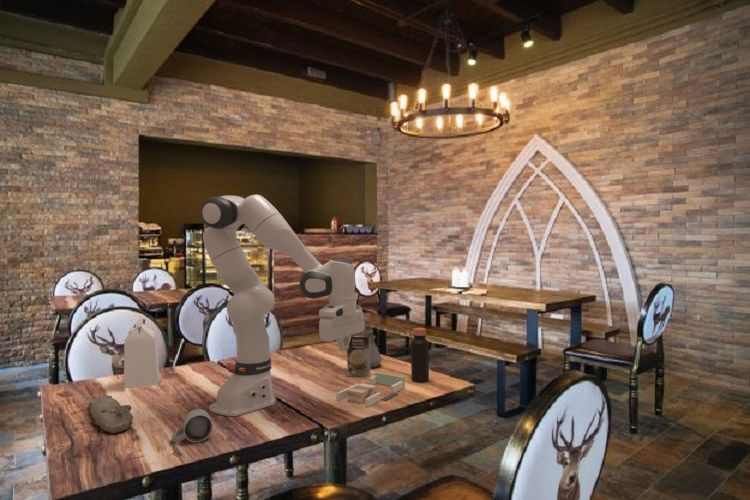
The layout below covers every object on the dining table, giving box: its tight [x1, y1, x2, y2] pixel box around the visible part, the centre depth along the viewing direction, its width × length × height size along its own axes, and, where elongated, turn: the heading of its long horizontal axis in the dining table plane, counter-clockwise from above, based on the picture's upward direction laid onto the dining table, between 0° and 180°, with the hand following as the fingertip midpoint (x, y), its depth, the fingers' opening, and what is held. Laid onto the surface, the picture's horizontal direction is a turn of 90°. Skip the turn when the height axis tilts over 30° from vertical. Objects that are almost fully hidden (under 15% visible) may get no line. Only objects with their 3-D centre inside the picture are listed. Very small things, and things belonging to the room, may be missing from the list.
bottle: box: [410, 327, 430, 383], centre depth 186 cm, size 7×7×20 cm
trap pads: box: [364, 382, 399, 402], centre depth 173 cm, size 12×17×1 cm
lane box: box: [336, 371, 406, 408], centre depth 171 cm, size 24×13×4 cm, turn 146°
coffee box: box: [346, 333, 372, 378], centre depth 195 cm, size 9×6×16 cm
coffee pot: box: [356, 333, 383, 369], centre depth 212 cm, size 21×12×15 cm, turn 34°
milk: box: [123, 316, 160, 390], centre depth 186 cm, size 12×12×26 cm
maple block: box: [347, 382, 377, 405], centre depth 166 cm, size 9×6×4 cm, turn 147°
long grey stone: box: [87, 394, 134, 434], centre depth 153 cm, size 35×5×10 cm
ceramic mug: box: [171, 408, 213, 444], centre depth 135 cm, size 11×8×8 cm
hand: (344, 349), depth 157 cm, fingers closed
